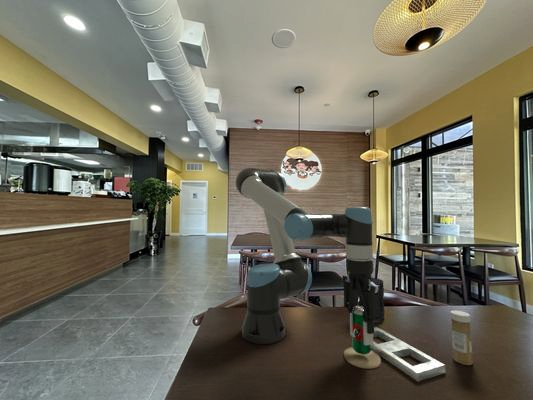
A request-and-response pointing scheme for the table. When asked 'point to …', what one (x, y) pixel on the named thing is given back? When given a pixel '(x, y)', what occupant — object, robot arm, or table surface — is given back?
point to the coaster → (362, 359)
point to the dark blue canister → (381, 294)
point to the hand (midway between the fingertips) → (361, 339)
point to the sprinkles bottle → (461, 337)
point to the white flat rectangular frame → (399, 349)
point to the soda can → (358, 331)
